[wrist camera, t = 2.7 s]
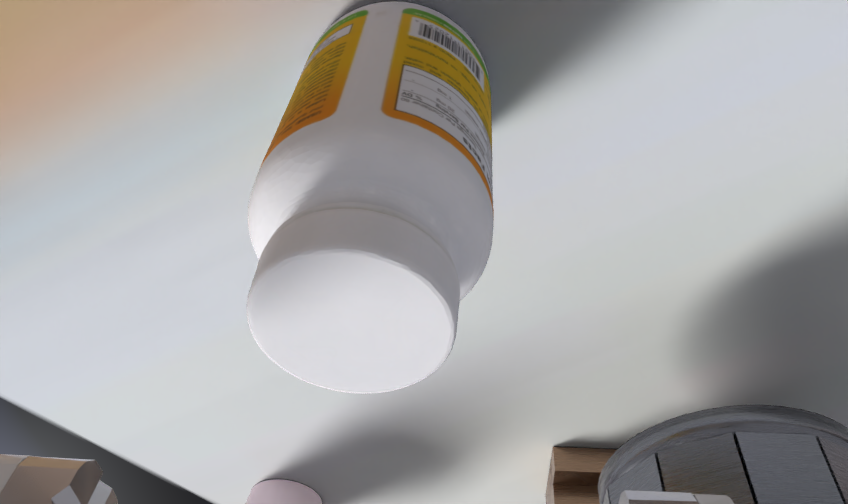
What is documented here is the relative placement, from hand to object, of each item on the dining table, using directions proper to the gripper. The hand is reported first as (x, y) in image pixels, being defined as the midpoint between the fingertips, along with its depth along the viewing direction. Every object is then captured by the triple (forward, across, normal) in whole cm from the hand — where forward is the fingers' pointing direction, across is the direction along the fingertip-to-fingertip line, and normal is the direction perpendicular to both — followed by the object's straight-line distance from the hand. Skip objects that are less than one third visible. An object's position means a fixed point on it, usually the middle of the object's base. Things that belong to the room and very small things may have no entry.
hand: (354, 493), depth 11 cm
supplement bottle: (+13, +1, -1) cm, 13 cm away
